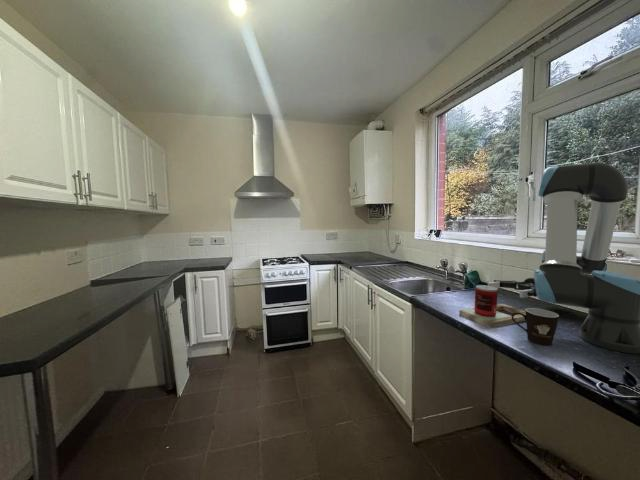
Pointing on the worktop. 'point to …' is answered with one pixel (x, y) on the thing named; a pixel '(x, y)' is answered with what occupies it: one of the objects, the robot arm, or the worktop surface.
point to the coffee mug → (539, 325)
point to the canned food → (486, 300)
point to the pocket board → (498, 318)
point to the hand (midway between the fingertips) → (503, 289)
